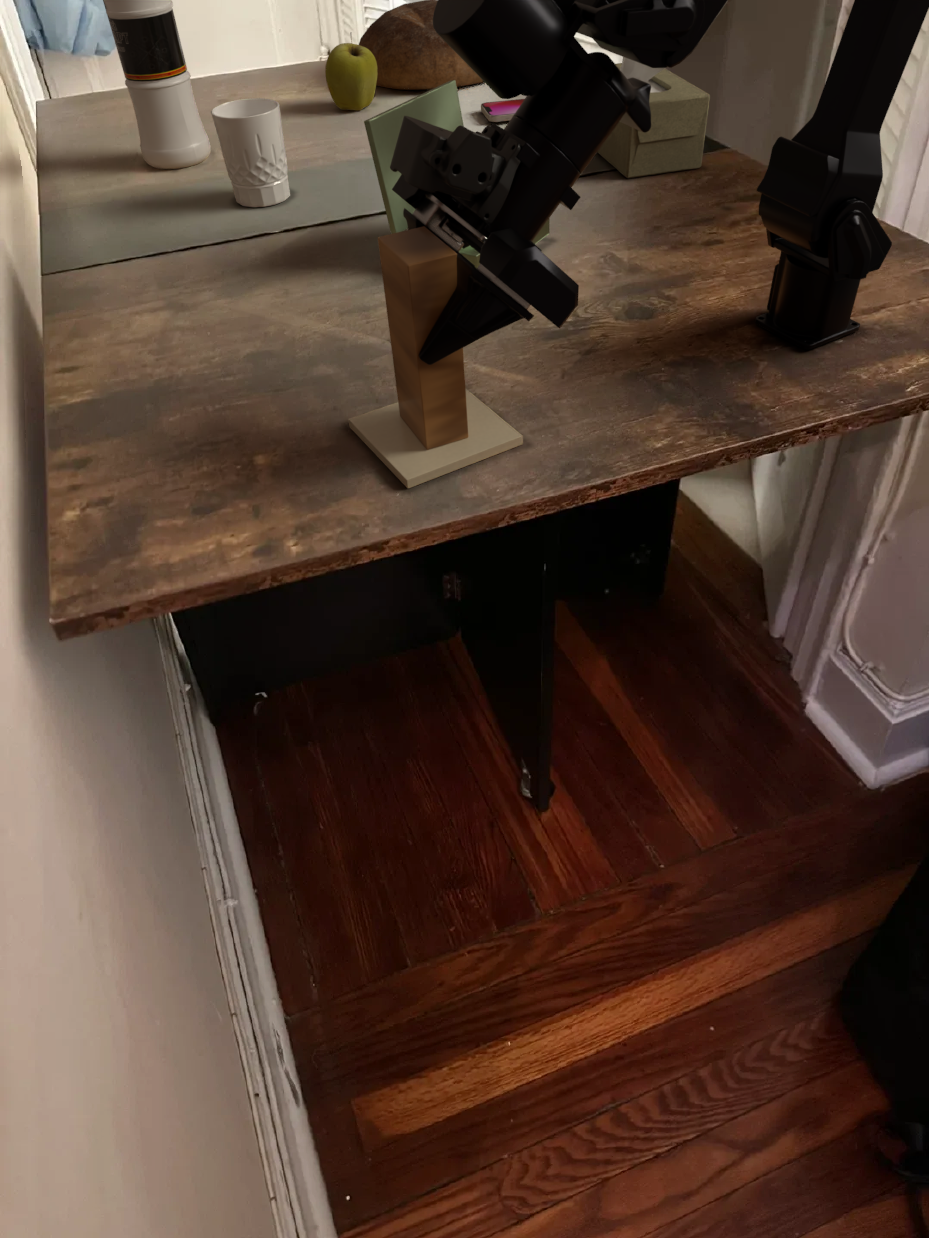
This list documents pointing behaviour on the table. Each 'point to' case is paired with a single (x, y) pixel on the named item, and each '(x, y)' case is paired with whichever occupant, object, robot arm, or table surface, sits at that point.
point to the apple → (351, 76)
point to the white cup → (253, 150)
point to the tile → (421, 465)
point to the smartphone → (500, 109)
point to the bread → (414, 50)
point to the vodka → (158, 83)
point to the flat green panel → (383, 136)
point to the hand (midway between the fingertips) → (408, 343)
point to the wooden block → (423, 334)
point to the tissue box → (660, 126)
